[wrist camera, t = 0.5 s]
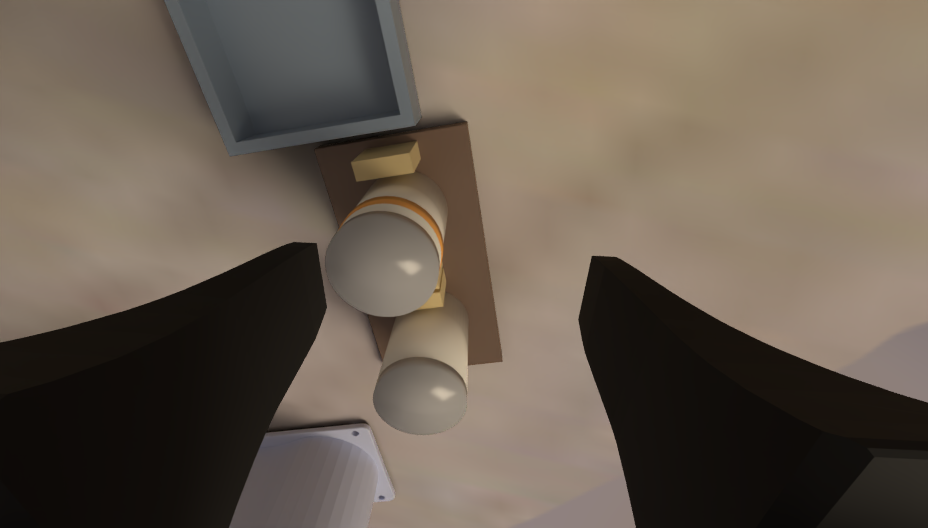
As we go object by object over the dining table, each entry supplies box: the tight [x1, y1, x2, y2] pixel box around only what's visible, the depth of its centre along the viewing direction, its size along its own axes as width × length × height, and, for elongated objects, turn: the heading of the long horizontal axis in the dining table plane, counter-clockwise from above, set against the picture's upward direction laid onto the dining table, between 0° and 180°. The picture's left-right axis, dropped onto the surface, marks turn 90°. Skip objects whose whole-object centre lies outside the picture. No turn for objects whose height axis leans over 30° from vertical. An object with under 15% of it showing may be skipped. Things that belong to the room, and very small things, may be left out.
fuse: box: [373, 292, 469, 435], centre depth 20 cm, size 4×4×6 cm
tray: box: [164, 0, 422, 156], centre depth 16 cm, size 8×8×2 cm
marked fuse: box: [325, 172, 448, 317], centre depth 17 cm, size 4×4×6 cm
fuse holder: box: [314, 122, 503, 365], centre depth 21 cm, size 7×14×3 cm, turn 9°
